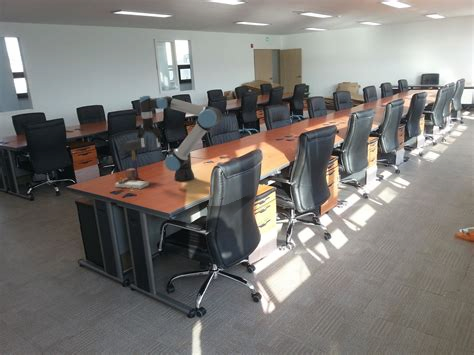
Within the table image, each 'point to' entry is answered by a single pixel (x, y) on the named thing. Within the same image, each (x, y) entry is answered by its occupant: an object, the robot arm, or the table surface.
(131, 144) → the rubber mallet
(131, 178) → the block
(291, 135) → the table surface
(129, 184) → the board
